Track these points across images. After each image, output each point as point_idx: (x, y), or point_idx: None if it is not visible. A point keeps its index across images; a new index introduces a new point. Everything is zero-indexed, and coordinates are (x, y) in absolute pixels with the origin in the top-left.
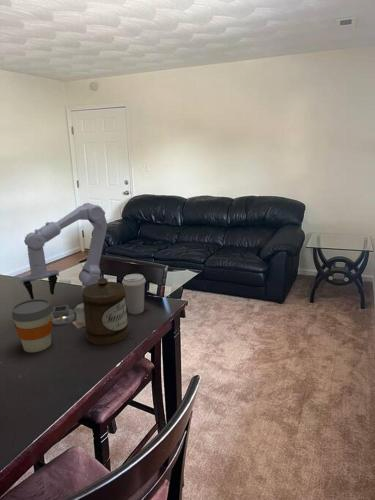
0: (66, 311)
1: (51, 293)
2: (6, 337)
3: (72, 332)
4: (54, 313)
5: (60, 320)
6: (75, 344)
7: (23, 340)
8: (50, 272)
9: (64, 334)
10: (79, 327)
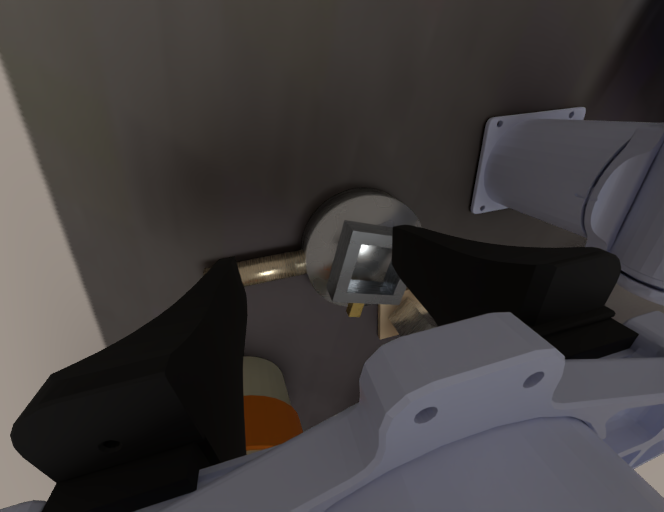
0: (389, 302)
1: (395, 256)
2: (100, 305)
3: (356, 347)
4: (338, 299)
5: (345, 303)
6: (342, 401)
7: None
8: (625, 444)
9: (331, 351)
10: (385, 337)
